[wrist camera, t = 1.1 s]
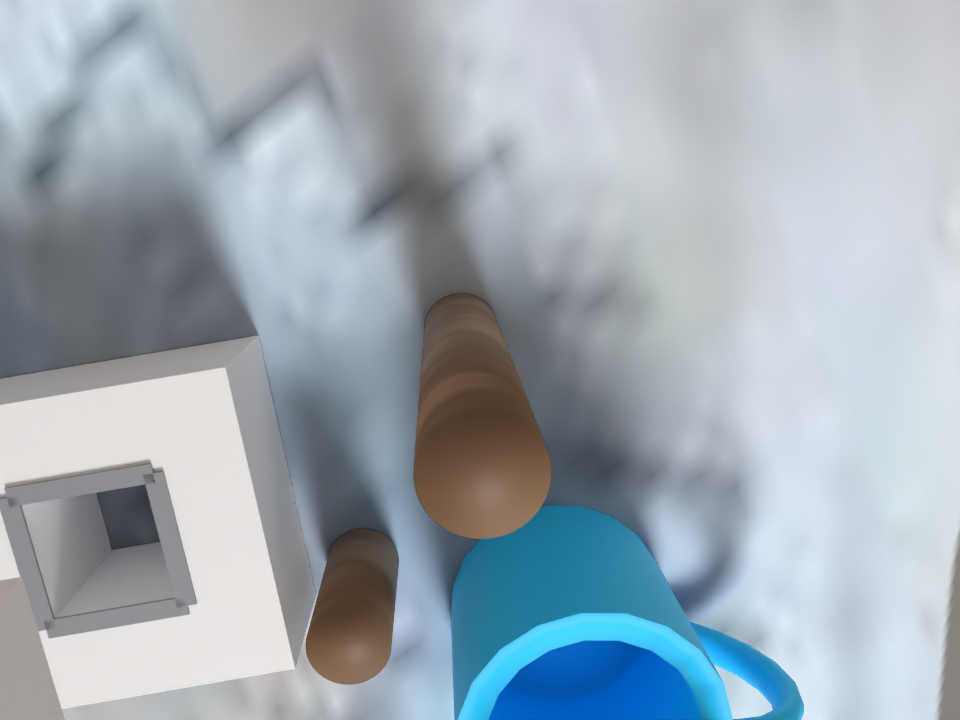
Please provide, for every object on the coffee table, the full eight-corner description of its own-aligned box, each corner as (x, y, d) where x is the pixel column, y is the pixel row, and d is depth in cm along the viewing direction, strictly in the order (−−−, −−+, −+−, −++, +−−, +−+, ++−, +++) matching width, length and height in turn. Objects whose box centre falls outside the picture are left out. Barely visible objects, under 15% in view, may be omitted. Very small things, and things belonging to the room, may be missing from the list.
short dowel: (336, 598, 33) (315, 690, 28) (322, 534, 33) (298, 615, 27) (404, 586, 33) (398, 676, 28) (392, 522, 33) (382, 600, 27)
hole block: (50, 640, 33) (-18, 724, 28) (-27, 383, 31) (-115, 424, 26) (315, 594, 33) (294, 670, 28) (258, 335, 31) (224, 368, 26)
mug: (432, 684, 34) (431, 841, 26) (472, 487, 33) (484, 591, 25) (729, 728, 35) (815, 891, 28) (783, 539, 34) (890, 654, 26)
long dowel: (431, 371, 32) (426, 549, 17) (418, 299, 31) (402, 420, 16) (503, 359, 32) (560, 526, 17) (491, 287, 31) (541, 397, 17)
